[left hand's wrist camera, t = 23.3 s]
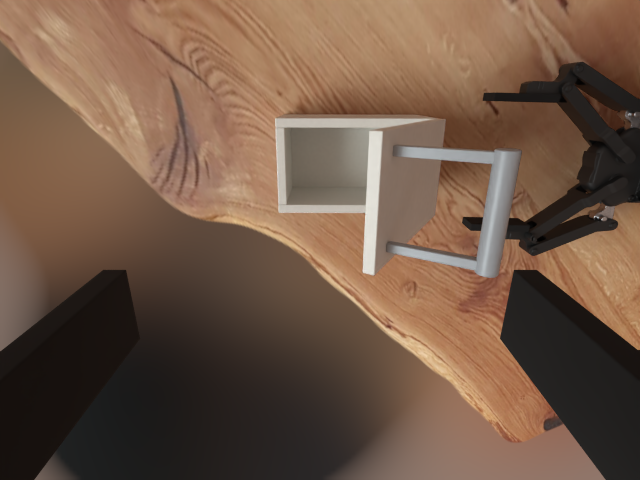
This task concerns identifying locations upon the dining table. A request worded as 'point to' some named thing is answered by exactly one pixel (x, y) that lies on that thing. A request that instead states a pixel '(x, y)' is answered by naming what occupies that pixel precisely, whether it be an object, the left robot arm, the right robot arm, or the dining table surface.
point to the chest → (327, 160)
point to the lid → (429, 196)
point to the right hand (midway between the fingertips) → (476, 163)
